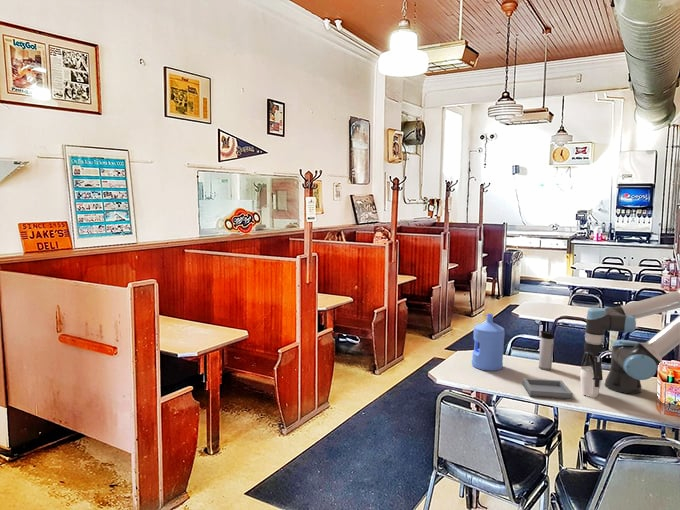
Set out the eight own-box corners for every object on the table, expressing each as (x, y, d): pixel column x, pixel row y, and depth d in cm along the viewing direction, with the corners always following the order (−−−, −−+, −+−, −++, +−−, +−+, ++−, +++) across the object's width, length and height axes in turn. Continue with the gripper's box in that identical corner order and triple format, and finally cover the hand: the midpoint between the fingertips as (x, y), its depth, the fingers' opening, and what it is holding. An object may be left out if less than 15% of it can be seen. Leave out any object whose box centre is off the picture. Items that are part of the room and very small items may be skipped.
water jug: (505, 365, 269) (509, 313, 265) (497, 373, 255) (501, 319, 252) (476, 359, 277) (479, 309, 274) (467, 367, 264) (470, 315, 260)
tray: (561, 386, 239) (561, 380, 239) (572, 399, 224) (572, 393, 223) (522, 383, 242) (522, 377, 241) (530, 396, 226) (530, 390, 226)
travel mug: (536, 366, 268) (538, 329, 266) (548, 366, 268) (551, 329, 266) (540, 370, 262) (543, 332, 260) (553, 370, 262) (556, 333, 260)
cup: (595, 391, 234) (598, 366, 233) (603, 399, 225) (606, 373, 224) (575, 390, 235) (577, 365, 234) (583, 398, 226) (585, 372, 225)
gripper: (576, 334, 240) (572, 377, 243) (595, 350, 216) (590, 397, 218) (592, 335, 239) (589, 378, 242) (613, 351, 215) (609, 399, 217)
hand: (589, 387), depth 230 cm, fingers open, 13 cm apart
